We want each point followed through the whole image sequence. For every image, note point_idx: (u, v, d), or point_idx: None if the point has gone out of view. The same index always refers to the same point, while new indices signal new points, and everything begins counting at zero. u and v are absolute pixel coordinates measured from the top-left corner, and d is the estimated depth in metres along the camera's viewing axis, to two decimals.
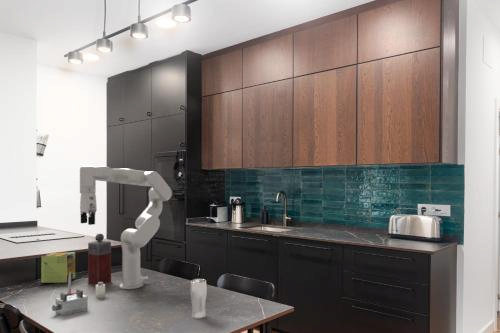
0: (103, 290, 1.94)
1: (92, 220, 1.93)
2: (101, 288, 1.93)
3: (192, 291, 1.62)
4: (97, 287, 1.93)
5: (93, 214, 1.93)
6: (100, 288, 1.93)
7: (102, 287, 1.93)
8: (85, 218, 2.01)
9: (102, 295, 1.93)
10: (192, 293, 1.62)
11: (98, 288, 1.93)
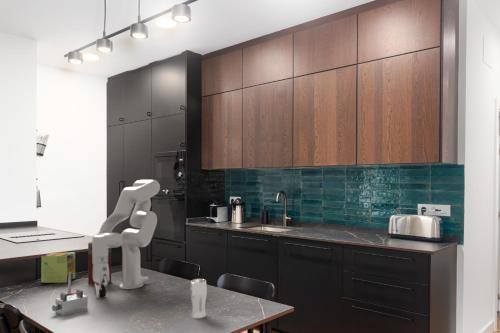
0: None
1: (103, 293, 1.92)
2: None
3: (192, 291, 1.62)
4: (97, 287, 1.93)
5: (104, 287, 1.91)
6: None
7: None
8: None
9: None
10: (192, 293, 1.62)
11: (98, 288, 1.93)
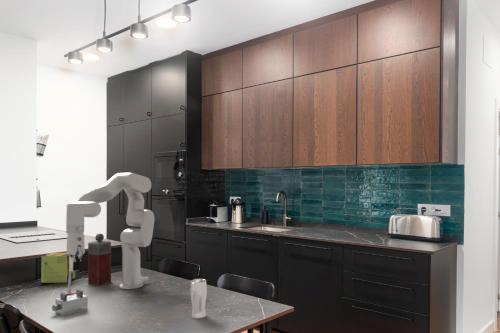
0: None
1: (77, 266, 1.74)
2: None
3: (192, 291, 1.62)
4: (71, 259, 1.75)
5: (78, 259, 1.74)
6: None
7: None
8: None
9: None
10: (192, 293, 1.62)
11: (72, 260, 1.75)
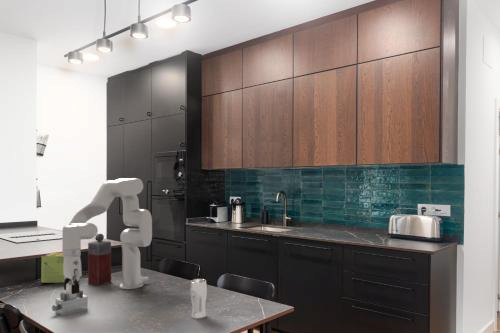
0: None
1: (76, 288, 1.71)
2: None
3: (192, 291, 1.62)
4: (67, 286, 1.72)
5: (77, 282, 1.70)
6: (71, 287, 1.72)
7: None
8: None
9: (73, 295, 1.73)
10: (192, 293, 1.62)
11: (69, 287, 1.72)
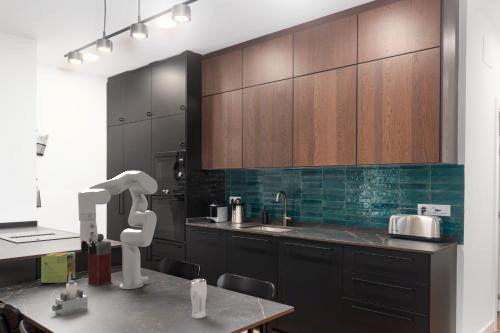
0: (74, 290, 1.74)
1: (93, 250, 1.78)
2: (72, 287, 1.73)
3: (192, 291, 1.62)
4: (68, 286, 1.73)
5: (94, 244, 1.77)
6: (71, 287, 1.73)
7: (73, 286, 1.73)
8: (86, 246, 1.86)
9: (73, 295, 1.73)
10: (192, 293, 1.62)
11: (69, 287, 1.72)
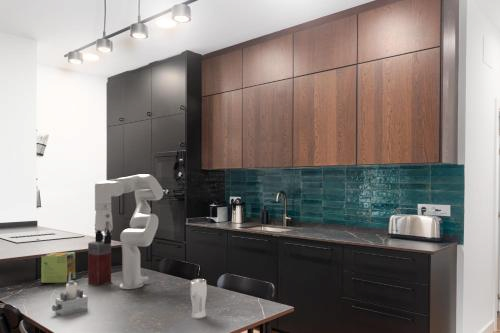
0: (74, 290, 1.74)
1: (108, 239, 1.84)
2: (72, 287, 1.73)
3: (192, 291, 1.62)
4: (67, 286, 1.72)
5: (109, 233, 1.84)
6: (71, 287, 1.72)
7: (73, 286, 1.73)
8: (100, 236, 1.92)
9: (73, 295, 1.73)
10: (192, 293, 1.62)
11: (68, 287, 1.72)
